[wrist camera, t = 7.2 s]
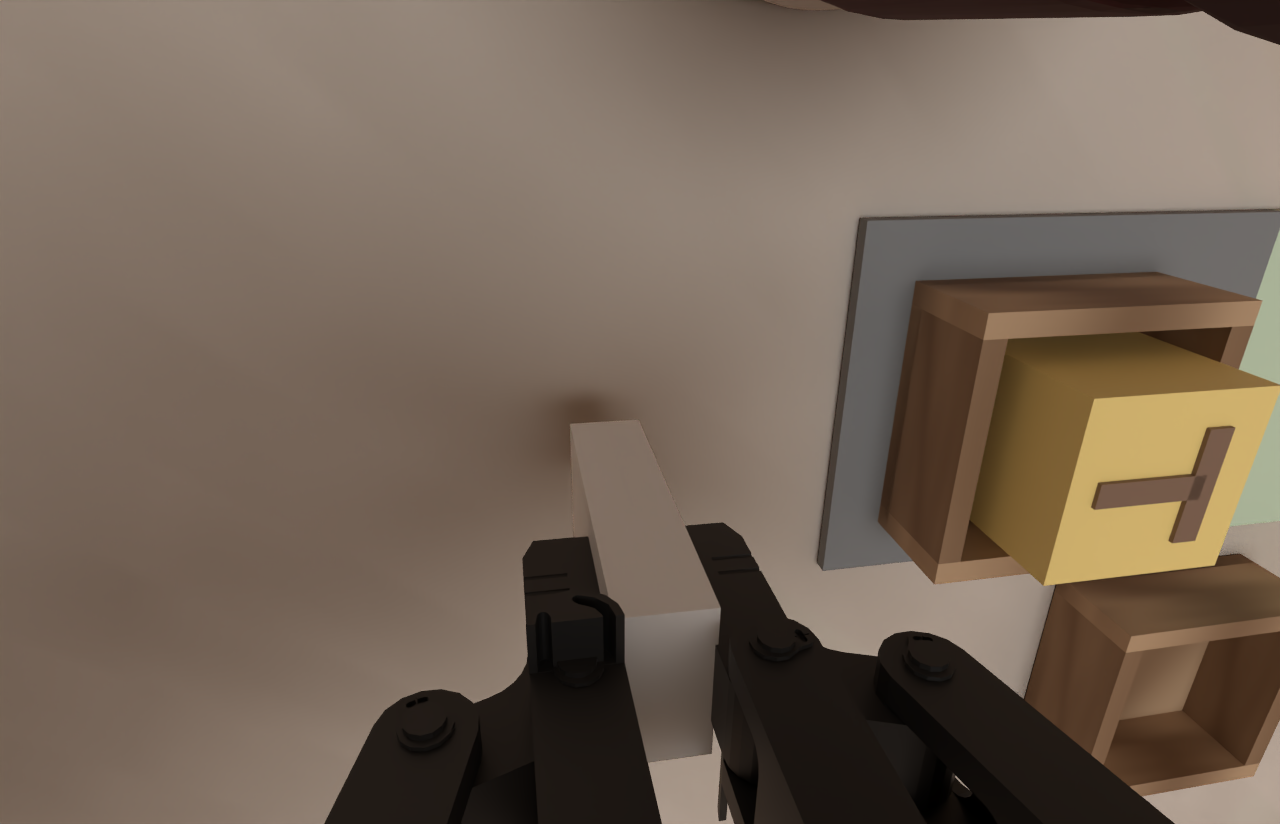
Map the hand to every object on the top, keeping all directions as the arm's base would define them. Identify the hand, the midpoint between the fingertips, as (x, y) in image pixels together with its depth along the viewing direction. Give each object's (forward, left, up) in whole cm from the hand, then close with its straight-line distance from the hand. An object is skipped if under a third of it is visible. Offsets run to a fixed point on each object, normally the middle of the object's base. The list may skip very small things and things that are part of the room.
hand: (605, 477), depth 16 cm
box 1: (+12, 0, -2) cm, 12 cm away
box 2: (+19, -10, -3) cm, 21 cm away
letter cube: (+12, 0, -2) cm, 12 cm away
